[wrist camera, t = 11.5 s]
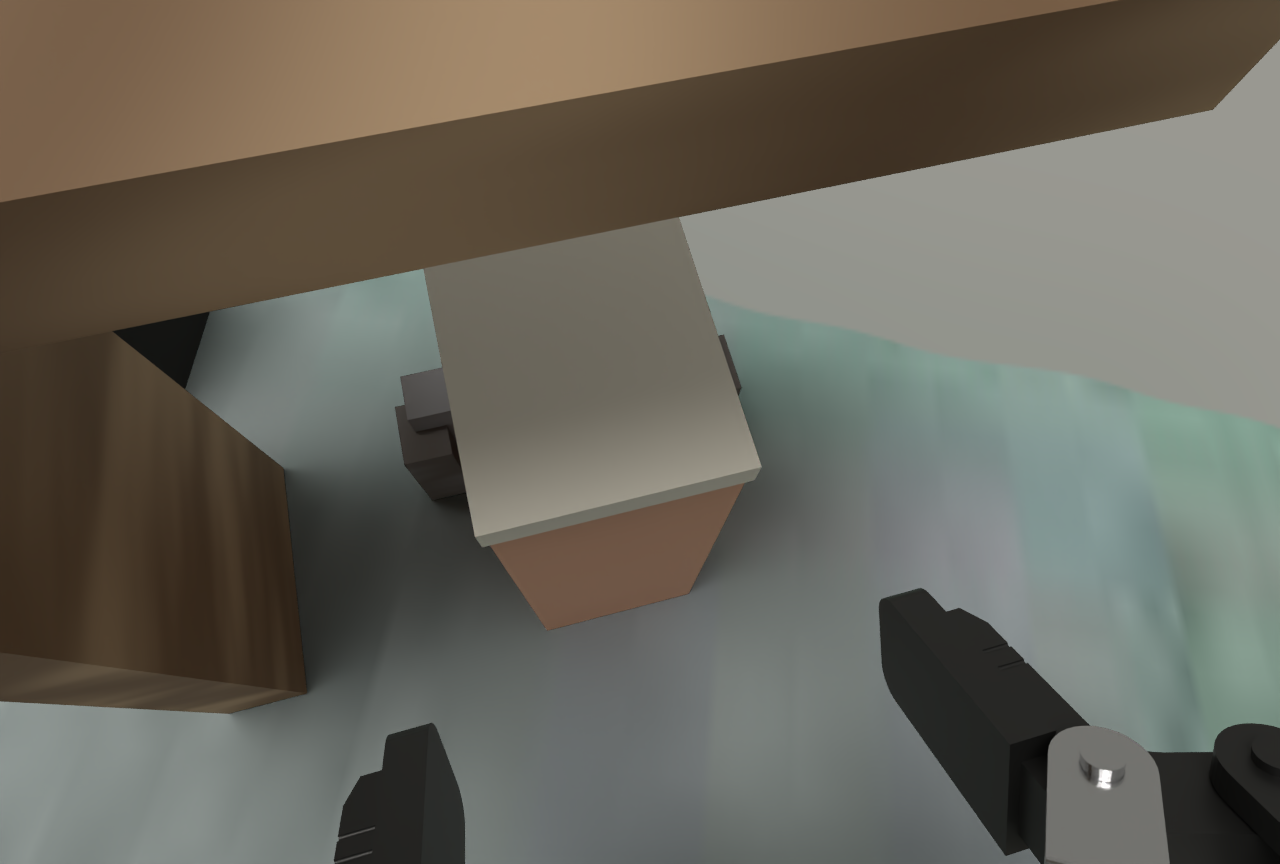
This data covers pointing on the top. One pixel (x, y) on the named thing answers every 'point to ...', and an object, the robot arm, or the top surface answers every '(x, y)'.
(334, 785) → the top surface
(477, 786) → the top surface
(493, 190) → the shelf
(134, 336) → the surveillance camera
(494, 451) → the tea tin
